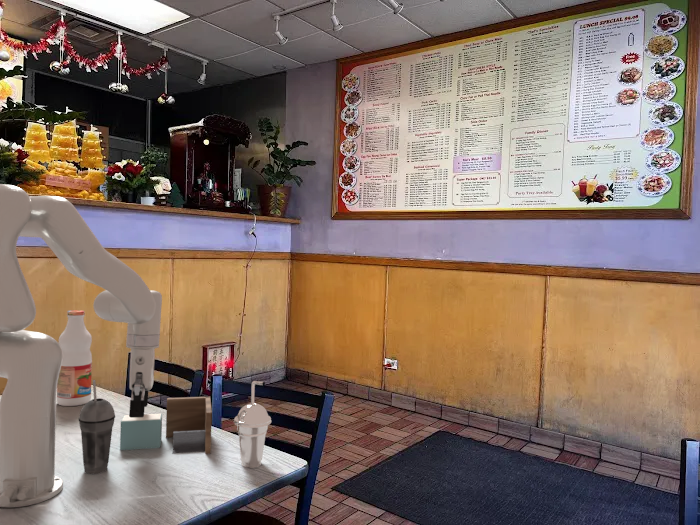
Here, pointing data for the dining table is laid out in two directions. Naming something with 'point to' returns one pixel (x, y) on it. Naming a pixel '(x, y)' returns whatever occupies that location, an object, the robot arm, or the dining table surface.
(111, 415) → the beverage cup
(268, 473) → the dining table surface
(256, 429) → the cup with straw
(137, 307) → the robot arm
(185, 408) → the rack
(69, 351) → the fruit juice
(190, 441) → the dark grey rectangular block
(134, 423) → the pale teal block
